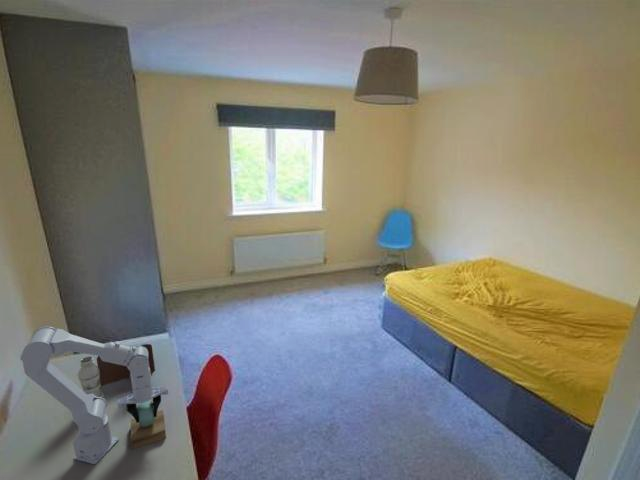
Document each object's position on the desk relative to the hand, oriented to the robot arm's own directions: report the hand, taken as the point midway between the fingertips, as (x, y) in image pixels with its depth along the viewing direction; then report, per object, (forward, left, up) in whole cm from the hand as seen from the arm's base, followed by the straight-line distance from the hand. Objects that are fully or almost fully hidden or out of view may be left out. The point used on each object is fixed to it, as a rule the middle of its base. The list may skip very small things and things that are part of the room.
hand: (146, 417), depth 113 cm
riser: (0, 0, -6) cm, 6 cm away
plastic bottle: (+5, +27, -6) cm, 28 cm away
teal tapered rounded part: (0, 0, -2) cm, 2 cm away
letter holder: (+25, +31, -6) cm, 40 cm away
